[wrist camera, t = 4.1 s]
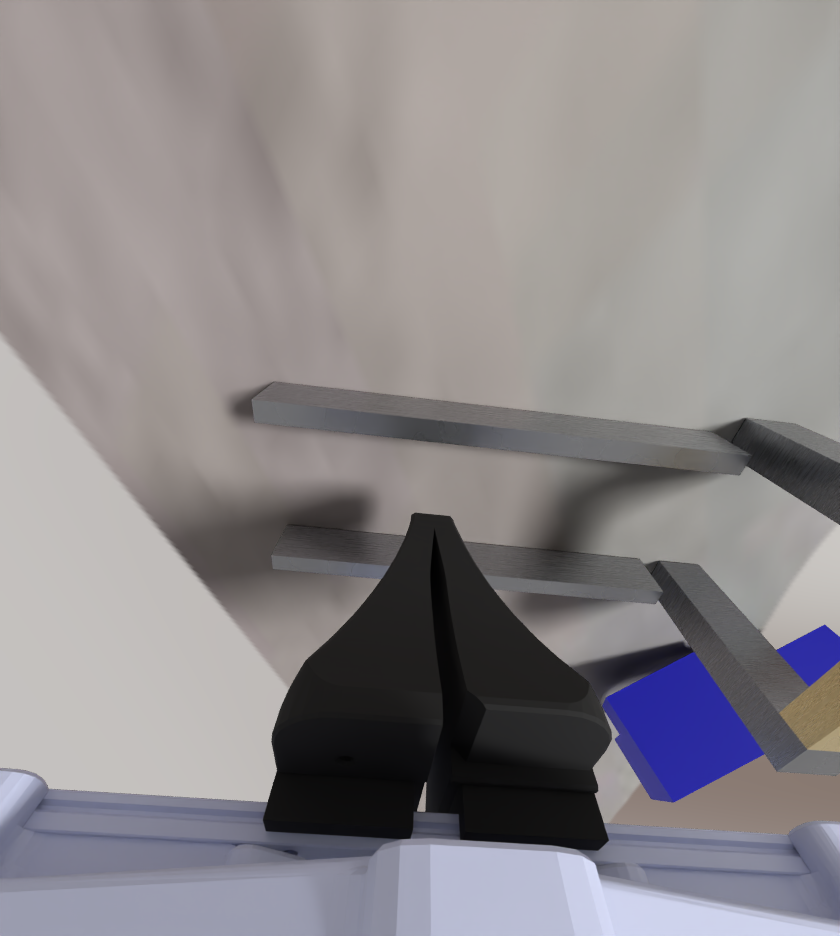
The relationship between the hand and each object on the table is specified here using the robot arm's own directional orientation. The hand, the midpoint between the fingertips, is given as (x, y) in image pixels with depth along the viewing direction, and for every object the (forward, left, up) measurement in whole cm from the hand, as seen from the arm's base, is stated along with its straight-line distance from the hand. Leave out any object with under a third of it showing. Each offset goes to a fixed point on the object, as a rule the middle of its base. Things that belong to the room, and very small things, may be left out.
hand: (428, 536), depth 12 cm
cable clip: (-9, -17, -1) cm, 19 cm away
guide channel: (0, -2, -3) cm, 4 cm away
